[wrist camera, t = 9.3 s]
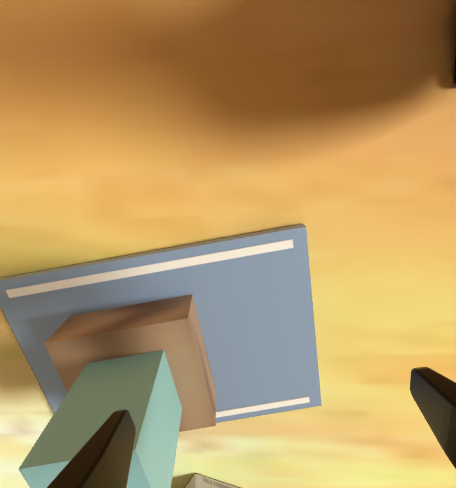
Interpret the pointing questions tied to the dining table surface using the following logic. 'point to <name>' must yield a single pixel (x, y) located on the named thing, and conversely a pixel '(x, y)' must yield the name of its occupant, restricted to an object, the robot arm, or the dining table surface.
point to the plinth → (143, 349)
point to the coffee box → (206, 483)
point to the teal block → (99, 410)
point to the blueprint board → (208, 310)
